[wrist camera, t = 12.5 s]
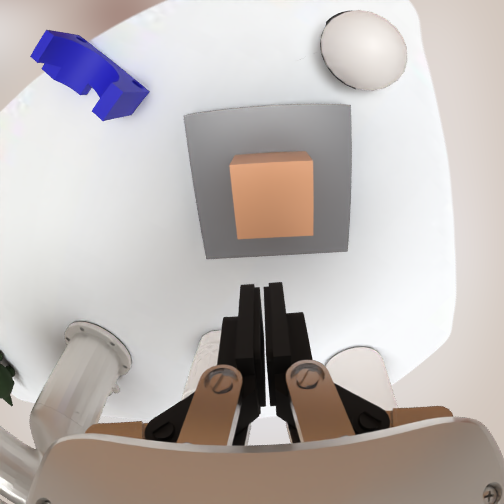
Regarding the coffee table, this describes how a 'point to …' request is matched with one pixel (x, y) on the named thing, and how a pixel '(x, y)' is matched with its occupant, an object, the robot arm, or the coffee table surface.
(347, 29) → the white piece
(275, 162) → the tan block
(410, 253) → the coffee table surface
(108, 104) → the cable clip
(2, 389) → the toy figurine
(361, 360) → the wine bottle
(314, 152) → the flat gray square plate
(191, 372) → the white cup
